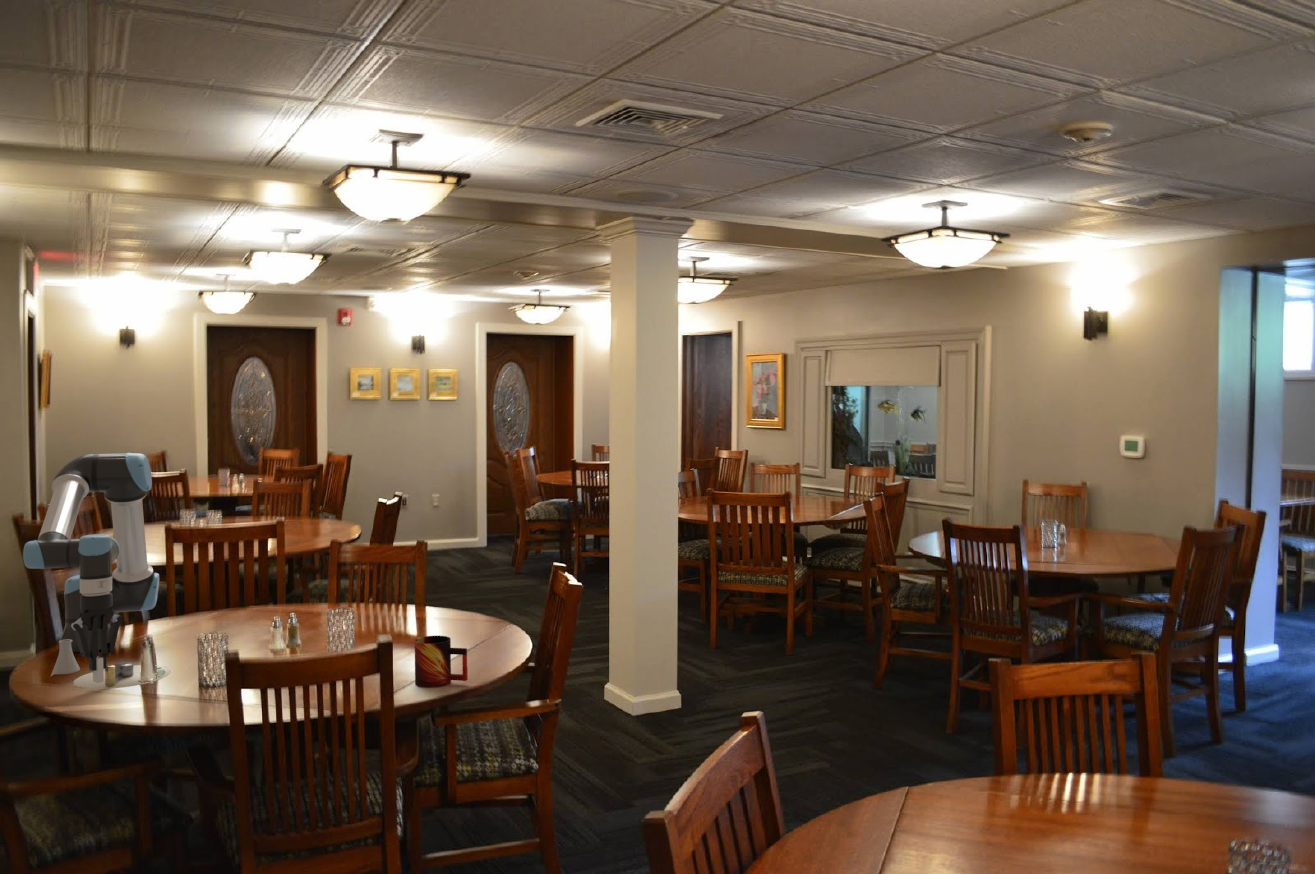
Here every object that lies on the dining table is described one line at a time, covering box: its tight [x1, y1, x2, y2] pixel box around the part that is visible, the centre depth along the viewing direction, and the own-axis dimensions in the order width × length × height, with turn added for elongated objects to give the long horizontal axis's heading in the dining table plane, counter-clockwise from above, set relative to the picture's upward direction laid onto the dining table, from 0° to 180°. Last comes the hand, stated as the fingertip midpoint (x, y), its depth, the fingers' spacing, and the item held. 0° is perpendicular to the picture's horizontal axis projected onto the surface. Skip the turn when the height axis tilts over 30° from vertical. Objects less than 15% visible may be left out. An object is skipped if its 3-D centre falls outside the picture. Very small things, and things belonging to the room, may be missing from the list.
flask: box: [50, 639, 81, 677], centre depth 284 cm, size 7×7×10 cm
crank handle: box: [104, 661, 134, 687], centre depth 274 cm, size 14×5×5 cm, turn 10°
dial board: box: [73, 664, 172, 690], centre depth 278 cm, size 24×24×1 cm
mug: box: [414, 635, 469, 689], centre depth 275 cm, size 10×14×12 cm
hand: (98, 681), depth 266 cm, fingers closed
